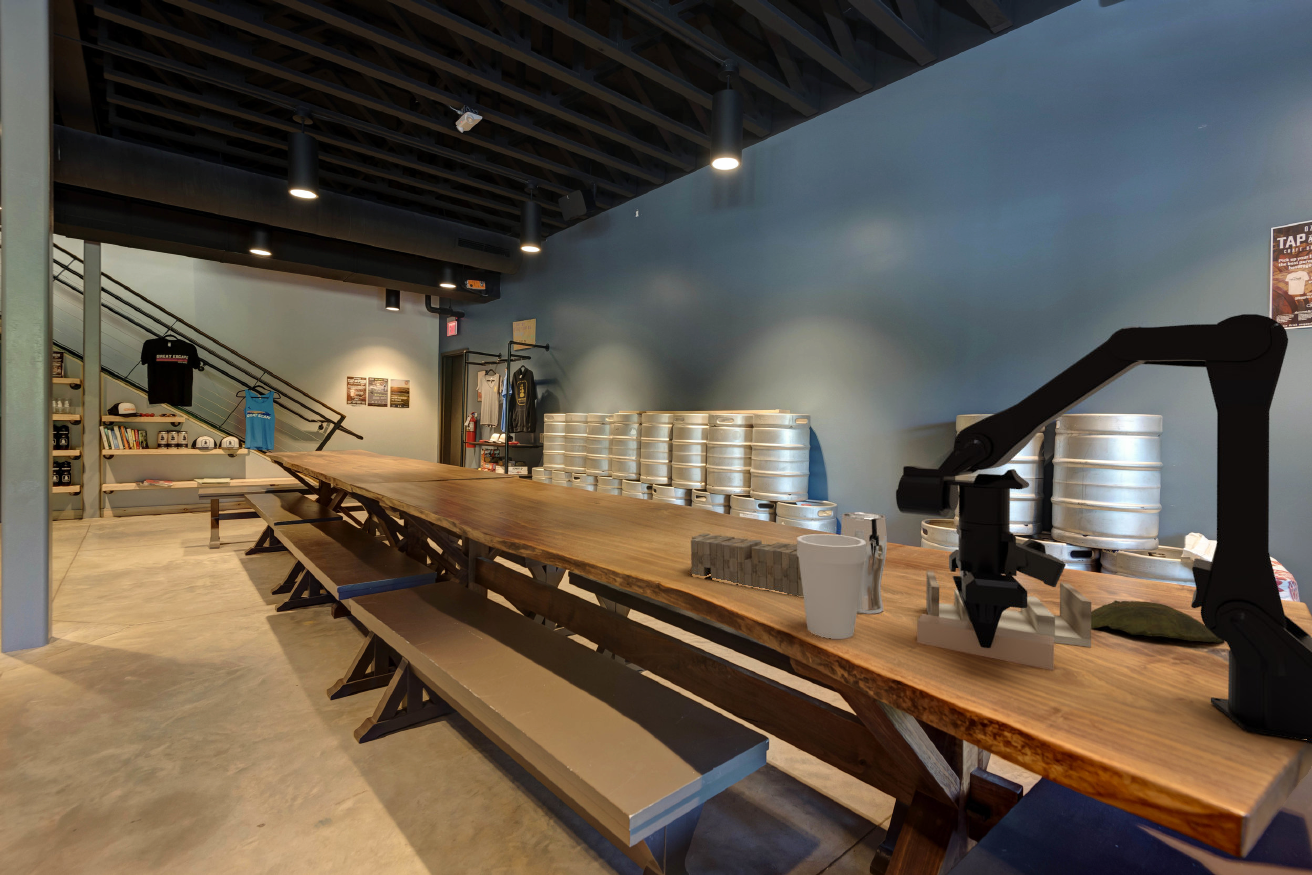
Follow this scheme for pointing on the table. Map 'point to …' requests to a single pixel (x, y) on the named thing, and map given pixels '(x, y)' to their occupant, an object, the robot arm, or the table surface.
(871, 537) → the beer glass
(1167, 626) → the pottery fragment
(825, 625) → the foam cup
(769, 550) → the block tower
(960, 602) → the drying rack
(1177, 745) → the table surface
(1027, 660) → the clay strip
